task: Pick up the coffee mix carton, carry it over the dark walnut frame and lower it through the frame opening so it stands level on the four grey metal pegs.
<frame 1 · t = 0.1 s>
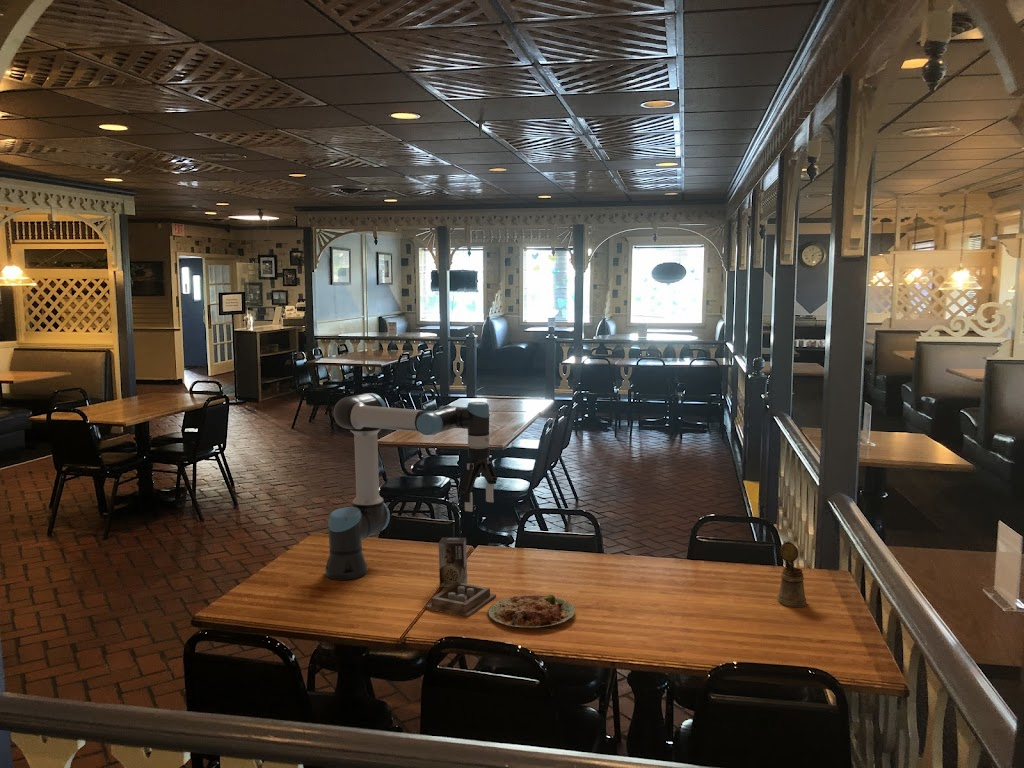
hand: (479, 506, 276), 28 cm above the table, tool pointing down, fingers open, 13 cm apart
rice dish: (531, 615, 253), on the table
peg stand: (461, 602, 262), on the table
disc topped pedestal: (790, 600, 263), on the table
coffee box: (453, 584, 279), on the table
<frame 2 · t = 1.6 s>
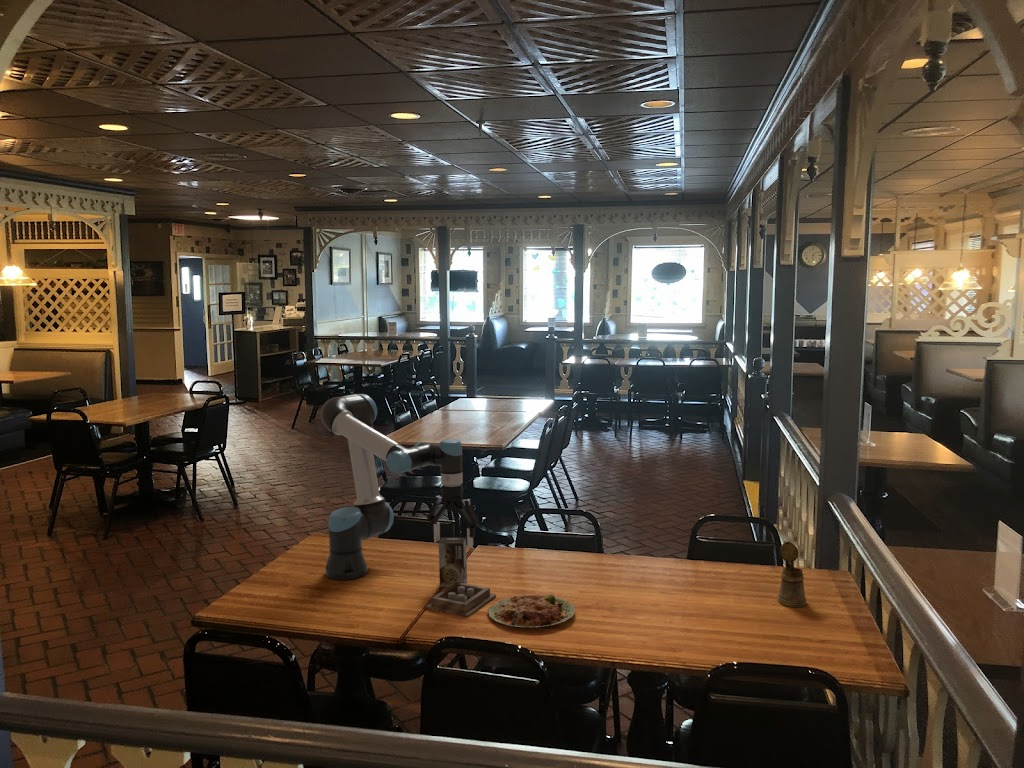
hand: (453, 543, 277), 15 cm above the table, tool pointing down, fingers open, 13 cm apart
nothing on the table moved.
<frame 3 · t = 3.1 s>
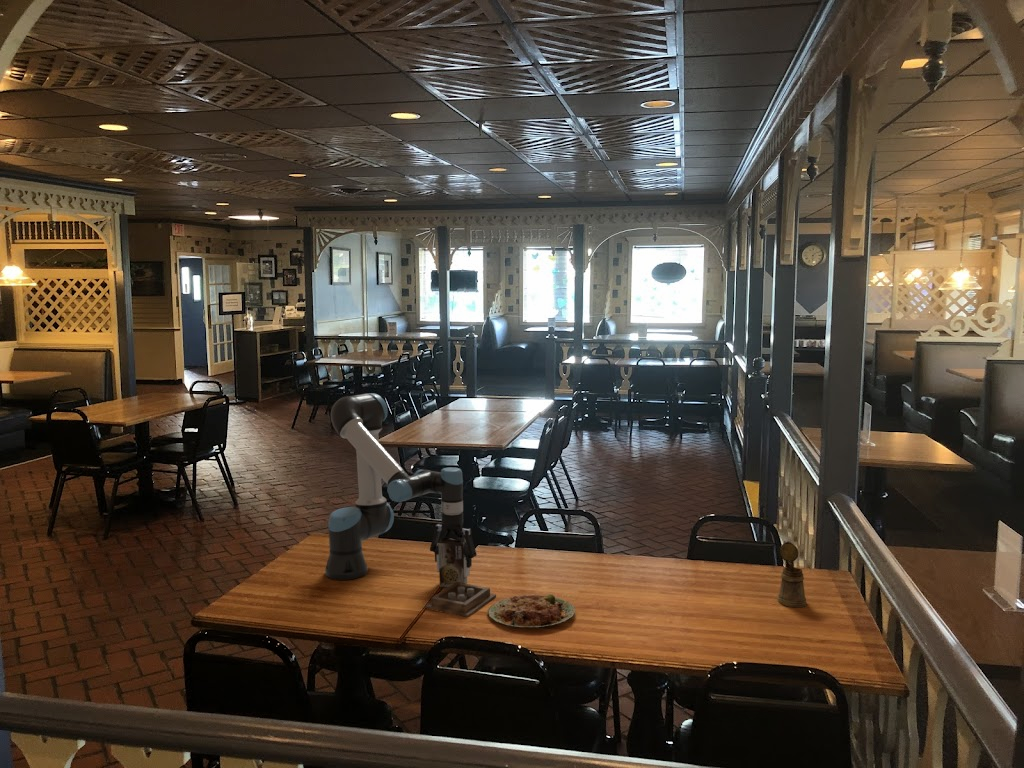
hand: (453, 573, 278), 4 cm above the table, tool pointing down, fingers closed on coffee box, 10 cm apart
coffee box: (453, 584, 279), on the table, touching gripper
everything else where it was.
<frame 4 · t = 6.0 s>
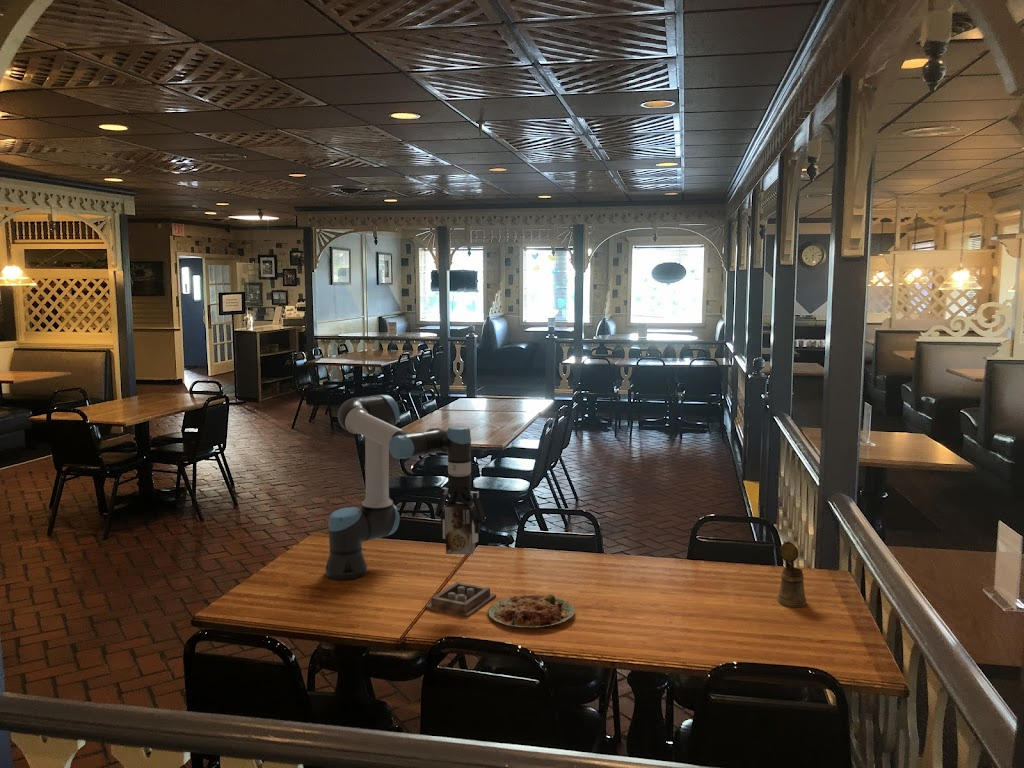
hand: (460, 540, 260), 21 cm above the table, tool pointing down, fingers closed on coffee box, 10 cm apart
coffee box: (460, 552, 260), point 17 cm above the table, touching gripper
everything else where it was.
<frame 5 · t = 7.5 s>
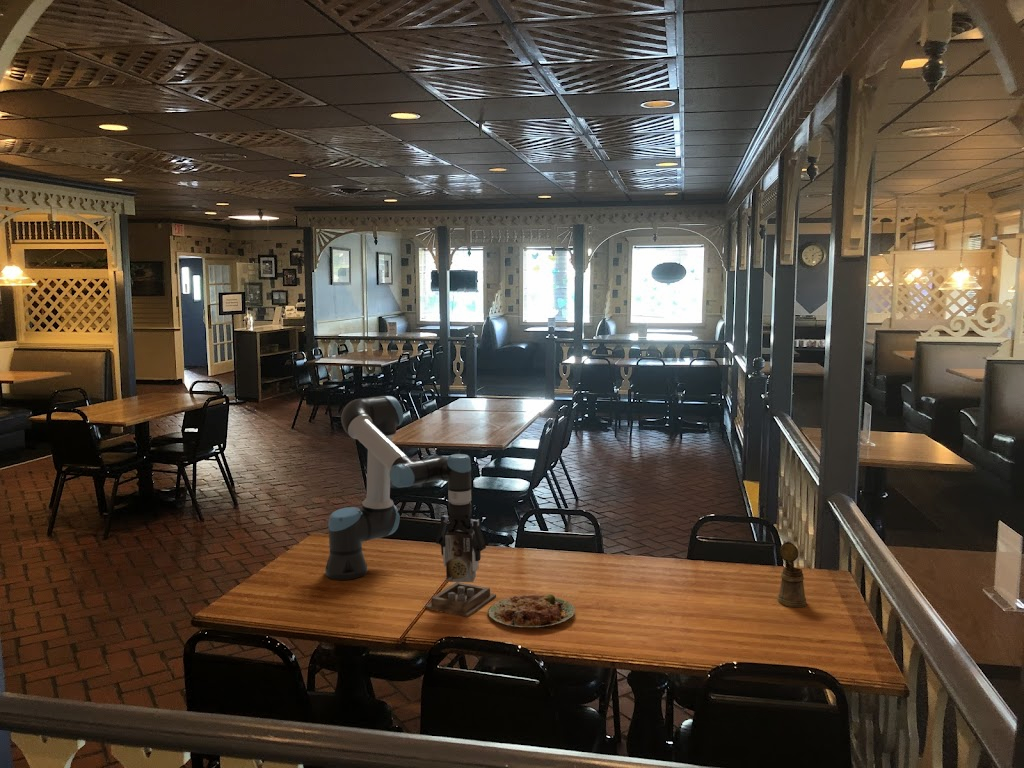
hand: (460, 567, 261), 12 cm above the table, tool pointing down, fingers closed on coffee box, 10 cm apart
coffee box: (461, 579, 261), point 8 cm above the table, touching gripper
everything else where it was.
when the fingers open (9 cm above the table, at t = 8.8 s): coffee box stays where it is, resting on peg stand.
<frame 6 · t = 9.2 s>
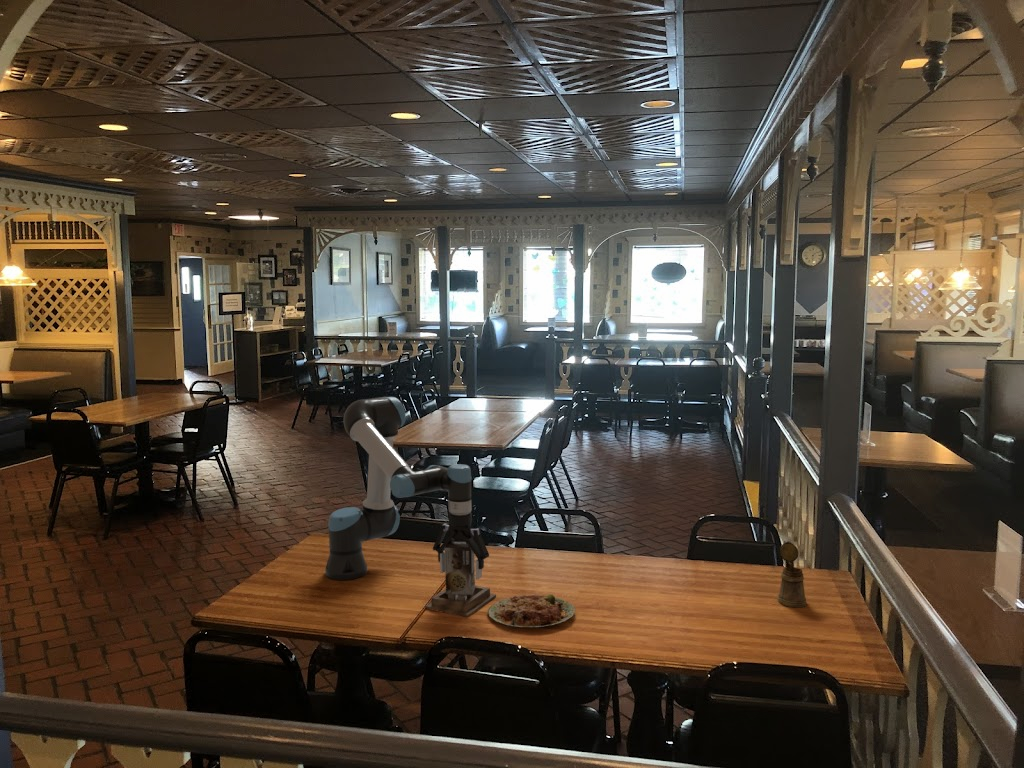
hand: (460, 574, 261), 10 cm above the table, tool pointing down, fingers open, 13 cm apart
coffee box: (460, 591, 262), point 4 cm above the table, touching peg stand
everything else where it was.
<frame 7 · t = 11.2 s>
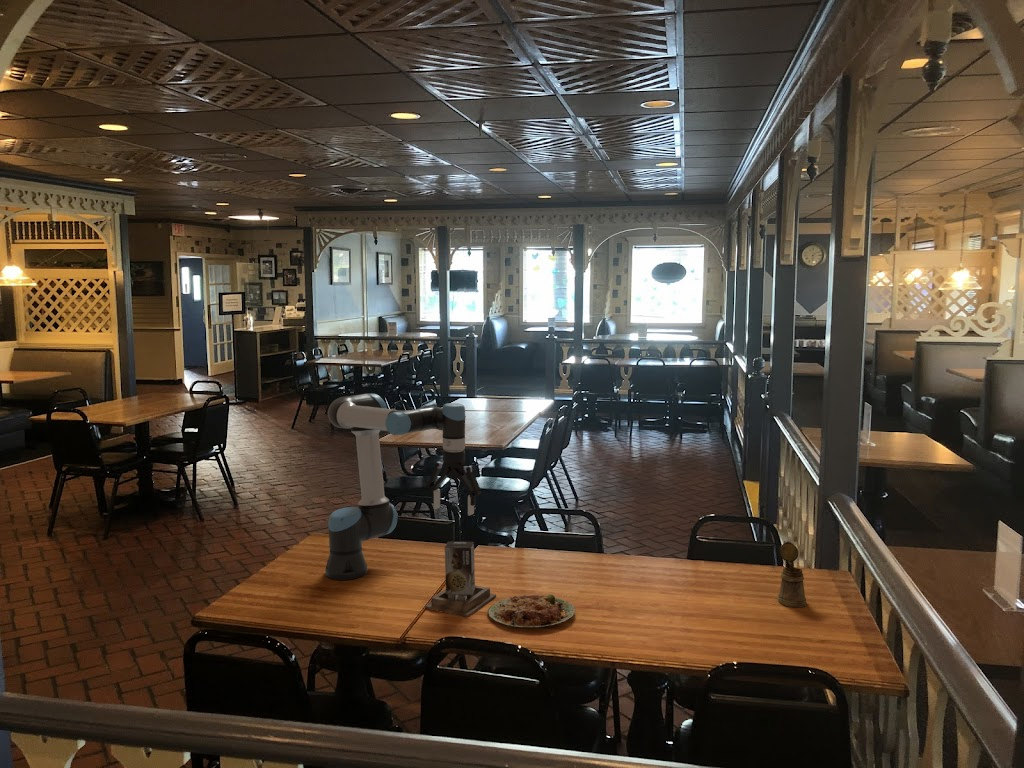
hand: (453, 511, 267), 29 cm above the table, tool pointing down, fingers open, 13 cm apart
nothing on the table moved.
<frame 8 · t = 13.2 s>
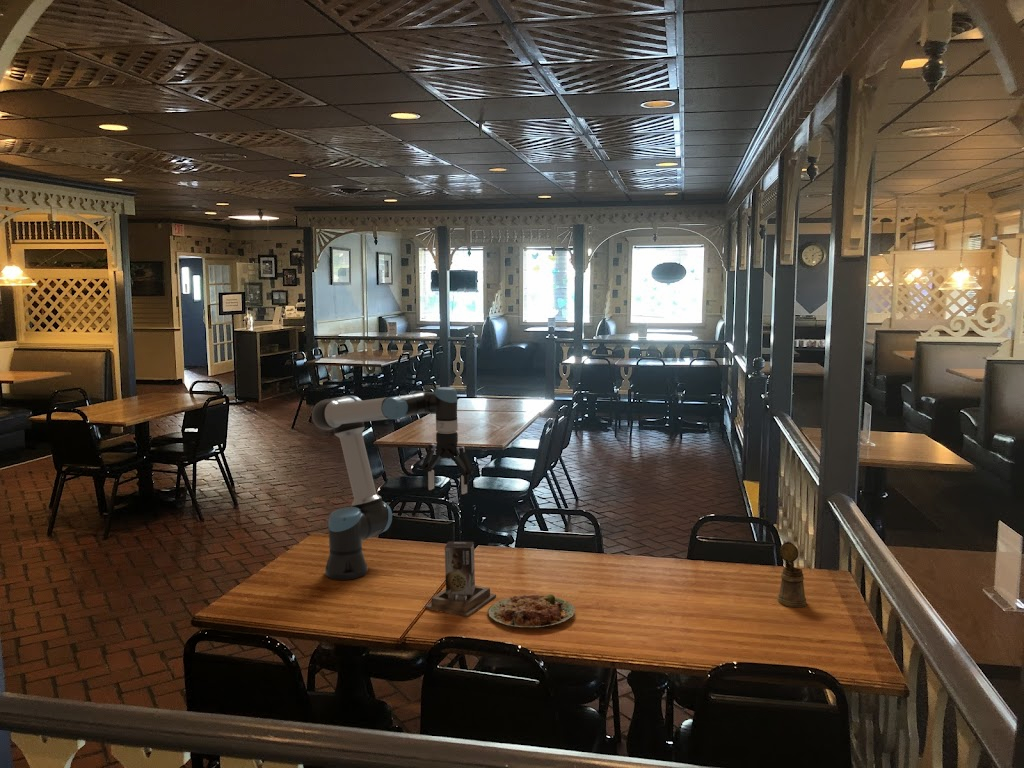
hand: (447, 491, 278), 33 cm above the table, tool pointing down, fingers open, 13 cm apart
nothing on the table moved.
at the end: coffee box 0.3 cm off-centre on the peg stand, point 3.6 cm above the peg stand's base; coffee box tilted 0°; the gripper is holding nothing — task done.
